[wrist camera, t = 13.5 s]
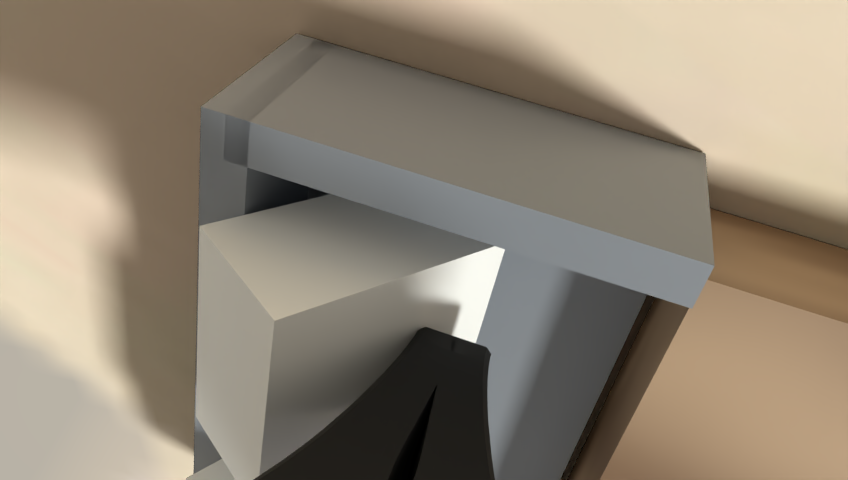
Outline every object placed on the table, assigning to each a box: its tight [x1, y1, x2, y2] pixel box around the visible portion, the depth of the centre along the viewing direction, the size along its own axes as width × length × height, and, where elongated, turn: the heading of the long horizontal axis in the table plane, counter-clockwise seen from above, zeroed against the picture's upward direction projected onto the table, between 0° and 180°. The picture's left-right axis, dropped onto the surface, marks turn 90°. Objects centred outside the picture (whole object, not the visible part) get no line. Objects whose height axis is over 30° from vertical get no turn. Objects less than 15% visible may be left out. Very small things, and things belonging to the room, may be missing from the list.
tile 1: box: [196, 194, 505, 480], centre depth 14 cm, size 4×4×2 cm
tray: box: [194, 34, 715, 480], centre depth 16 cm, size 14×8×4 cm, turn 169°
